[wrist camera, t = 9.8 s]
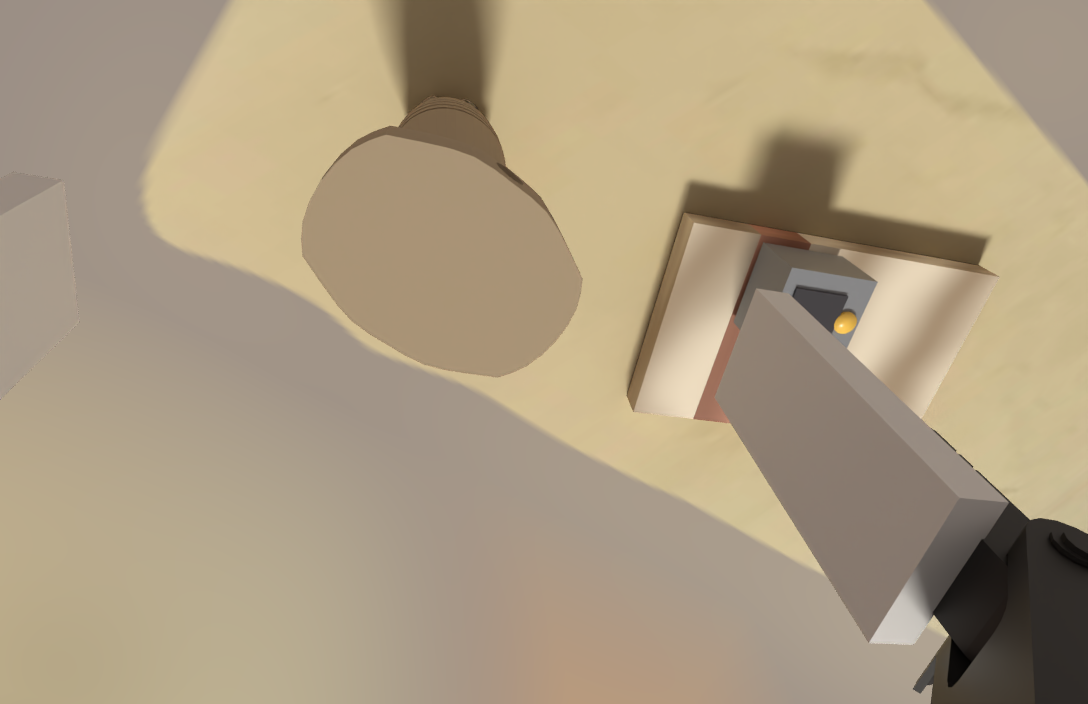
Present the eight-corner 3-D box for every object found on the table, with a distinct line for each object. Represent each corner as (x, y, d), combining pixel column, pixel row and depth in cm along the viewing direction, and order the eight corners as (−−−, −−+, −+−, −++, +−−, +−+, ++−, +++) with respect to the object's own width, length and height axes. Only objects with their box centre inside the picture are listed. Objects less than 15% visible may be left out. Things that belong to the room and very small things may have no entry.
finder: (842, 256, 32) (879, 283, 29) (809, 333, 33) (841, 365, 31) (763, 242, 31) (793, 268, 28) (733, 322, 32) (759, 354, 30)
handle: (416, 29, 27) (385, 84, 14) (544, 134, 29) (621, 266, 16) (348, 131, 28) (261, 269, 15) (475, 223, 31) (495, 409, 18)
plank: (979, 265, 35) (999, 277, 33) (892, 428, 39) (908, 443, 38) (684, 212, 31) (694, 222, 30) (626, 396, 36) (633, 411, 35)
